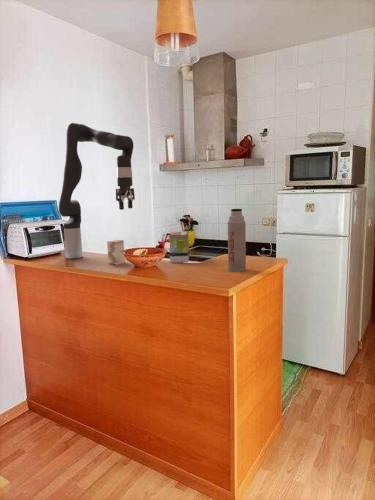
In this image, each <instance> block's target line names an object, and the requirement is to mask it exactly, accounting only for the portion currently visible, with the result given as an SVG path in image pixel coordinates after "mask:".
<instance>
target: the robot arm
mask: <svg viewBox="0 0 375 500" xmlns="http://www.w3.org/2000/svg"><path fill="white" fill-rule="evenodd" d="M78 142H80V143H85V142H87V143H89V142H92V143H95V144H98V145H101V146H104V147H108V148H111V149H114V150H118V151H121V154H120V155H118V156H117V158H116V167H117V168H116V177H117V179H116V180H117V181H116V182H117V187H119V188H116V189H115V200H116V201H117V202H118V206H119V207H118V208H119V210H120V211H121V210H124V208H125V202H124V200H125V199H127V208H128V209H133V201H135V199H136V198H135V188H134V187H133V170H132V155H133V151H134V141H133V139H132V137H131V136H128V135H123V134H122V135H120V134H115V133H112V132H108V131H104V130H96V129H93V128H91V127H89V126H87V125H86V124H82V123H76V122H70V123H69V124H68V126H67V128H66V147H65V148H66V153H65V162H64V170H63V181H62V188H61V193H60V198H59V203H58V212H59V215H60V216H61V217H69V219H68V220H67V221H65V222H64V223H63V224H62V225H63V237H64V241H63V248H64V257H65V259H80V258H82V257H83V244H82V233H81V232H82V230H81V224H82V210H81V209H82V208H81V204H80V202H79V201H78V200H76V199H72V195H73V193H74V190H76V187H77V186H78V185H79V183H80V181H81V179H82V173H83V164H82V162H81V159H80V156H79V154H78V144H79V143H78ZM132 187H133V188H132Z"/></svg>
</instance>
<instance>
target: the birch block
mask: <svg viewBox="0 0 375 500" xmlns="http://www.w3.org/2000/svg"><path fill="white" fill-rule="evenodd" d="M124 241H125V240H123V239H112V240H108V241H106V245H107V259H108V260H107V261H108V265H113V264H116V265H115V266H119V265H122V264H125V263H126V261H125V260H126V257H125V258H124V256H123V255H122V252H123V251H124V252H125V243H124ZM124 262H125V263H124ZM121 263H122V264H121ZM118 264H119V265H118Z"/></svg>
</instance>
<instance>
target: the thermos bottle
mask: <svg viewBox="0 0 375 500" xmlns="http://www.w3.org/2000/svg"><path fill="white" fill-rule="evenodd" d="M246 228H247V227H246V221H245V217H244V215H243V208H231V210H230V215H229V216H228V221H227V247H228V248H227V266H228V267H227V268H228V271H229V272H233V273H235V272H236V273H239V272H245V271H246V270H247V267H246V266H247V265H246V263H247V259H246V257H247V255H246V254H247V253H246V250H247V249H246V246H247V245H246V244H247V243H246V242H247V241H246V237H247V236H246V233H247V232H246V231H247V230H246Z"/></svg>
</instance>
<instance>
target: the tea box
mask: <svg viewBox="0 0 375 500" xmlns="http://www.w3.org/2000/svg"><path fill="white" fill-rule="evenodd" d="M189 236H190V233H189V231H172V232H170V233H169V236H168V237H169V263H175V264H176V263H177V264H178V263H189V260H190V238H189Z"/></svg>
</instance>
